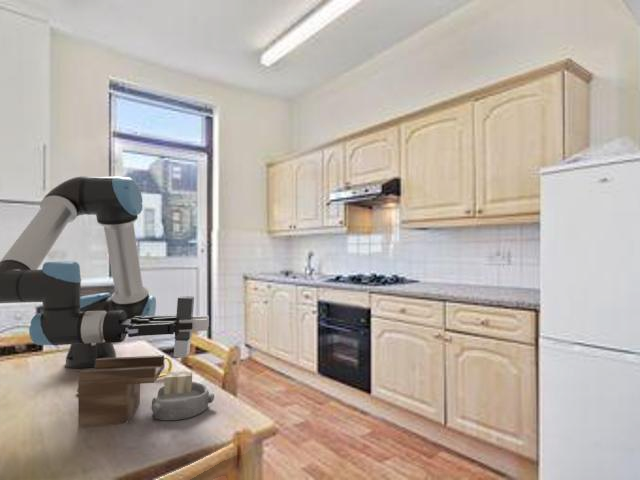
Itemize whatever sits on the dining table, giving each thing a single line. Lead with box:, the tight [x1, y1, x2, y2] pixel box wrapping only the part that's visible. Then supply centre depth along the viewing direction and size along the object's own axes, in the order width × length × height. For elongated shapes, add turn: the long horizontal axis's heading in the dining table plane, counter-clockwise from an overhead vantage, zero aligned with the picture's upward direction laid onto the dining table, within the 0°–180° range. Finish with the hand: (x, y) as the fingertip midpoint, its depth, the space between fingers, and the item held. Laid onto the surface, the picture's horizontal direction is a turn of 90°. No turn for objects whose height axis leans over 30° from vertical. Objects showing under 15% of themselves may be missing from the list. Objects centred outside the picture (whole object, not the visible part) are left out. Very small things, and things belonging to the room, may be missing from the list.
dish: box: [151, 381, 215, 421], centre depth 102 cm, size 14×14×5 cm
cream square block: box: [178, 370, 193, 393], centre depth 102 cm, size 4×4×3 cm
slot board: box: [77, 354, 165, 428], centre depth 99 cm, size 12×16×12 cm
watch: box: [158, 355, 173, 378], centre depth 128 cm, size 6×3×6 cm, turn 136°
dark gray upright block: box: [173, 295, 195, 358], centre depth 102 cm, size 6×3×14 cm, turn 10°
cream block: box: [163, 371, 180, 394], centre depth 101 cm, size 4×4×3 cm
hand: (207, 322), depth 103 cm, fingers closed on dark gray upright block, 3 cm apart
